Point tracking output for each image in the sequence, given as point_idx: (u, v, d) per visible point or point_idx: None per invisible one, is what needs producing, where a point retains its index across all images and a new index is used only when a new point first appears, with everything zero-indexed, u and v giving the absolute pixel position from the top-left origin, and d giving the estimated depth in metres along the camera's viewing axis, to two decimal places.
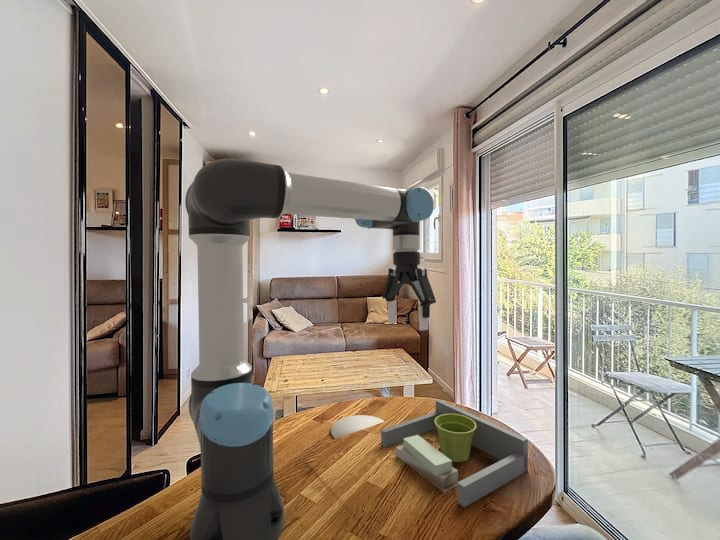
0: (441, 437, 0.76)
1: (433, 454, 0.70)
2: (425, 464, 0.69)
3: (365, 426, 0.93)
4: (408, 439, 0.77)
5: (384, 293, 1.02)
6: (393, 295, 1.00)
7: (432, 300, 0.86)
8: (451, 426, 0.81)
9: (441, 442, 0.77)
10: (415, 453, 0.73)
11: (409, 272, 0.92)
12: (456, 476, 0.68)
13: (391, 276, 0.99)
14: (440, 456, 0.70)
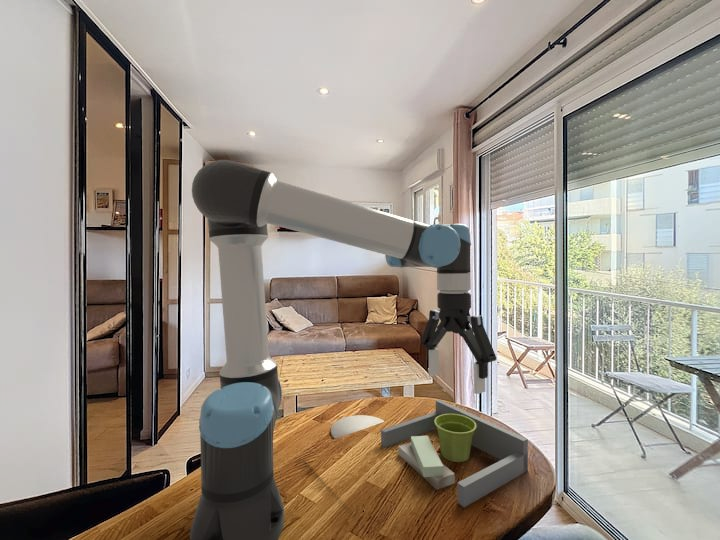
0: (441, 437, 0.76)
1: (429, 456, 0.70)
2: (419, 464, 0.70)
3: (365, 426, 0.93)
4: (414, 438, 0.77)
5: (423, 339, 0.84)
6: (435, 342, 0.82)
7: (492, 358, 0.69)
8: (451, 426, 0.81)
9: (441, 442, 0.77)
10: (415, 452, 0.73)
11: (459, 319, 0.75)
12: (453, 479, 0.67)
13: (433, 320, 0.82)
14: (435, 459, 0.69)
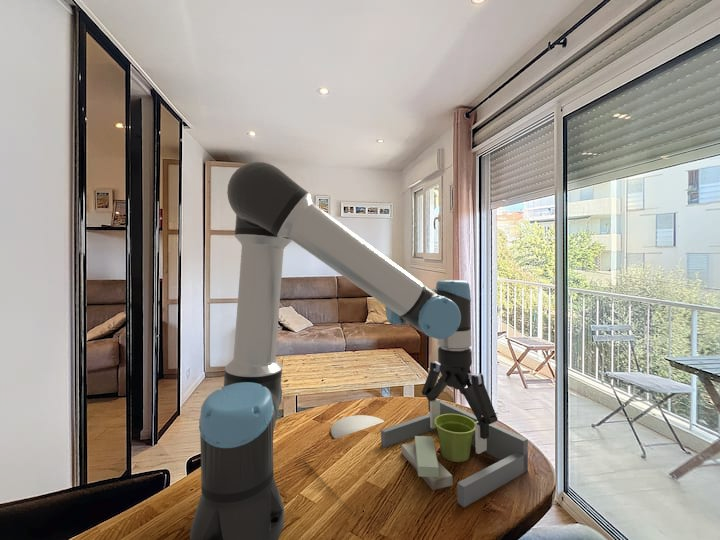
0: (441, 437, 0.76)
1: (427, 456, 0.70)
2: None
3: (365, 426, 0.93)
4: (418, 438, 0.77)
5: (424, 390, 0.84)
6: (436, 394, 0.83)
7: (493, 419, 0.69)
8: (451, 426, 0.81)
9: (441, 442, 0.77)
10: None
11: (460, 376, 0.75)
12: (450, 481, 0.66)
13: (434, 372, 0.82)
14: (432, 460, 0.68)
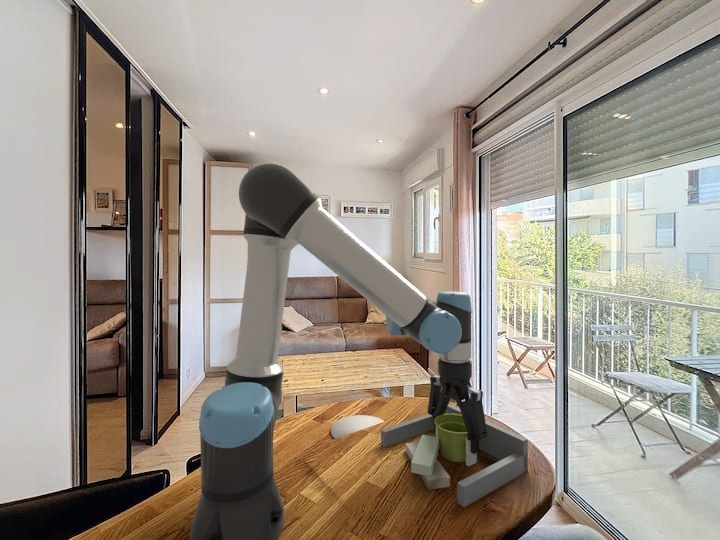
0: (441, 437, 0.76)
1: (424, 455, 0.70)
2: None
3: (365, 426, 0.93)
4: (424, 437, 0.78)
5: (429, 408, 0.83)
6: (441, 412, 0.81)
7: (483, 436, 0.71)
8: (451, 426, 0.81)
9: (441, 442, 0.77)
10: None
11: (459, 387, 0.75)
12: (448, 482, 0.66)
13: (435, 386, 0.82)
14: (427, 459, 0.69)
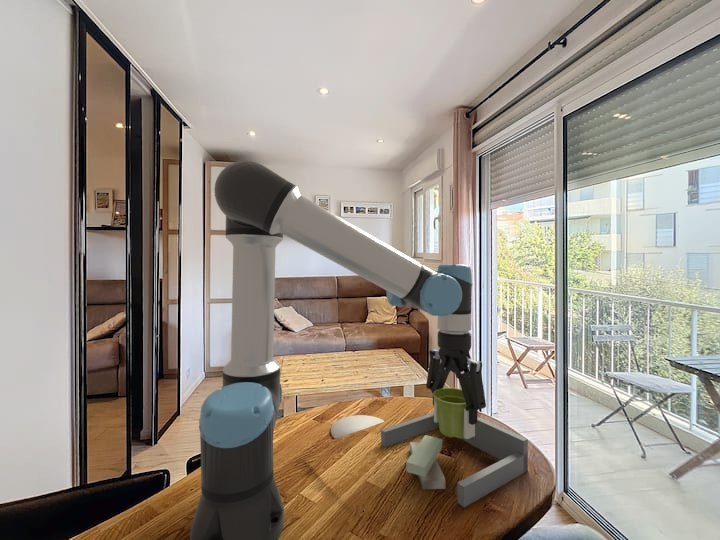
0: (439, 409, 0.76)
1: (421, 455, 0.70)
2: None
3: (365, 426, 0.93)
4: (427, 437, 0.77)
5: (428, 382, 0.83)
6: (440, 385, 0.81)
7: (482, 406, 0.71)
8: (450, 400, 0.81)
9: (439, 414, 0.76)
10: None
11: (459, 359, 0.75)
12: (443, 484, 0.66)
13: (434, 360, 0.82)
14: (423, 460, 0.69)
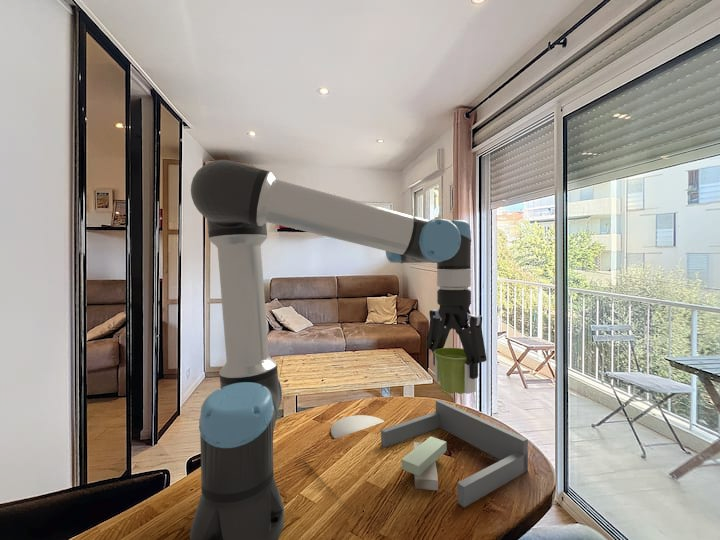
0: (440, 366, 0.76)
1: (419, 455, 0.70)
2: None
3: (365, 426, 0.93)
4: (431, 438, 0.77)
5: (429, 342, 0.83)
6: (440, 345, 0.81)
7: (482, 359, 0.71)
8: None
9: (440, 371, 0.76)
10: None
11: (459, 315, 0.75)
12: (435, 485, 0.65)
13: (434, 319, 0.81)
14: (419, 459, 0.69)
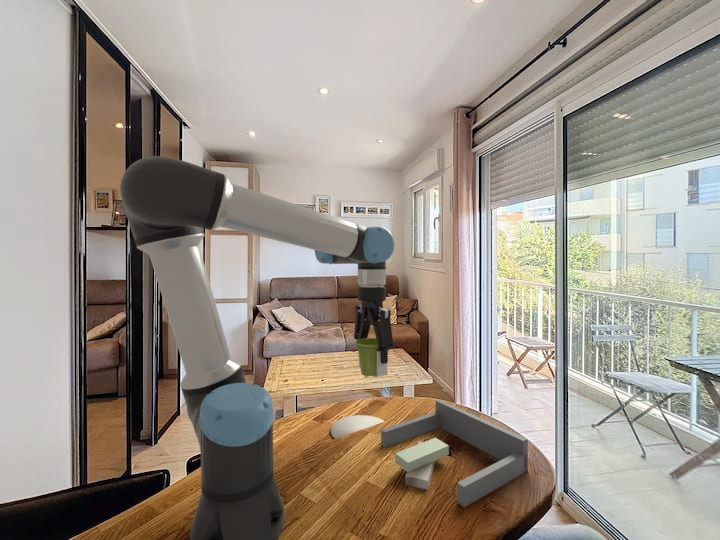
0: (359, 353, 0.88)
1: (414, 453, 0.71)
2: None
3: (365, 426, 0.93)
4: (435, 440, 0.77)
5: (355, 333, 0.95)
6: (364, 335, 0.93)
7: (389, 347, 0.83)
8: None
9: (359, 357, 0.89)
10: None
11: (373, 309, 0.87)
12: (425, 485, 0.66)
13: (359, 313, 0.94)
14: (412, 456, 0.70)
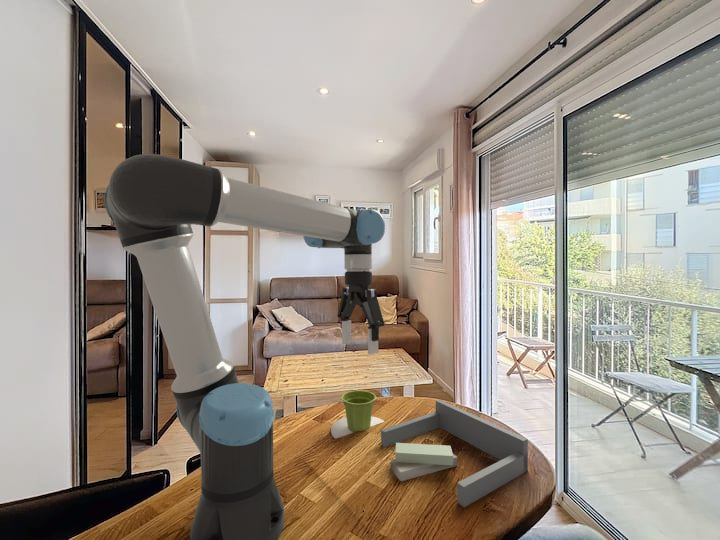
0: (345, 408, 0.91)
1: (411, 448, 0.73)
2: None
3: None
4: (446, 447, 0.73)
5: (339, 312, 0.99)
6: (347, 315, 0.97)
7: (380, 323, 0.83)
8: (359, 401, 0.96)
9: (346, 413, 0.91)
10: None
11: (360, 293, 0.89)
12: (399, 475, 0.68)
13: (345, 295, 0.96)
14: (405, 450, 0.72)
